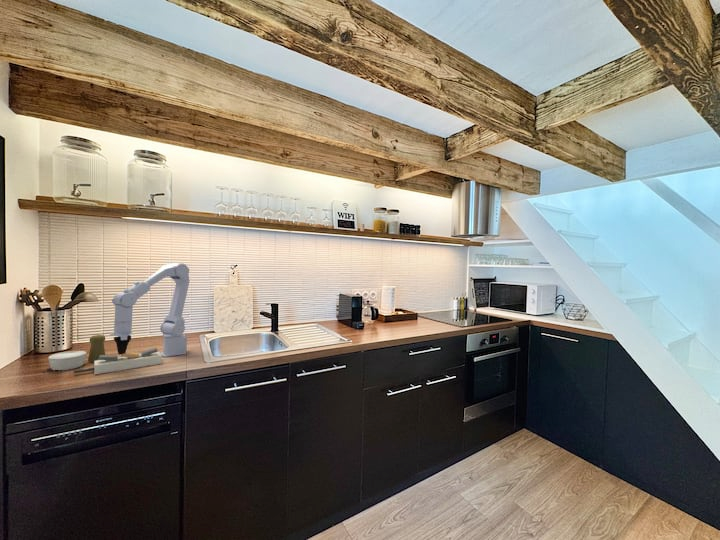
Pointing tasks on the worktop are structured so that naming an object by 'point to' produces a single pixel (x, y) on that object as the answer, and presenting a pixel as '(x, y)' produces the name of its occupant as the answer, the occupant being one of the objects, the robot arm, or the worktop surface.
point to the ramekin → (67, 360)
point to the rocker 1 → (108, 357)
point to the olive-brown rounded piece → (96, 347)
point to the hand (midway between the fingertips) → (121, 353)
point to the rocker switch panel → (123, 363)
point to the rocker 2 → (149, 352)
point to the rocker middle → (130, 354)
